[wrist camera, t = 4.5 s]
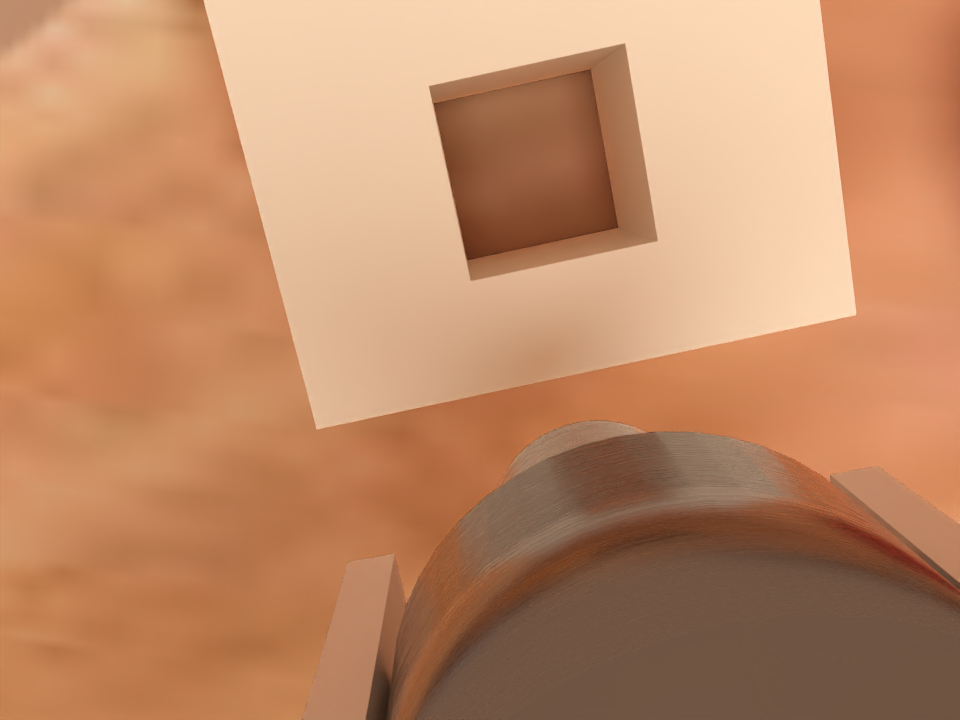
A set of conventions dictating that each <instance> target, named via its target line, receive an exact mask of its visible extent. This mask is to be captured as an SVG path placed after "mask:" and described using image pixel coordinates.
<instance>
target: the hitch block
mask: <svg viewBox="0 0 960 720" xmlns="http://www.w3.org/2000/svg"><path fill="white" fill-rule="evenodd" d="M204 4H205V8H206V12H207V15H208V19H209V23H210V27H211V31H212V34H213V38H214V42H215V46H216V50H217V53H218V57H219V61H220V65H221V69H222V72H223V76H224V80H225V84H226V87H227V91H228V95H229V99H230V103H231V106H232V110H233V114H234V118H235V122H236V125H237V129H238V133H239V137H240V141H241V144H242V148H243V152H244V156H245V160H246V163H247V167H248V171H249V175H250V178H251V182H252V186H253V190H254V194H255V197H256V201H257V205H258V209H259V213H260V216H261V220H262V224H263V228H264V232H265V235H266V239H267V243H268V247H269V250H270V254H271V258H272V262H273V266H274V269H275V273H276V277H277V281H278V285H279V288H280V292H281V296H282V300H283V304H284V307H285V311H286V315H287V319H288V323H289V326H290V330H291V334H292V338H293V341H294V345H295V349H296V353H297V357H298V360H299V364H300V368H301V372H302V376H303V379H304V383H305V387H306V391H307V395H308V398H309V402H310V406H311V410H312V414H313V417H314V421H315V425H316V429H322V428H326V427H331V426H336V425H340V424H345V423H350V422H355V421H359V420H364V419H369V418H373V417H378V416H383V415H388V414H392V413H397V412H402V411H406V410H411V409H416V408H421V407H425V406H430V405H435V404H439V403H444V402H449V401H453V400H458V399H463V398H468V397H472V396H477V395H482V394H486V393H491V392H496V391H501V390H505V389H510V388H515V387H519V386H524V385H529V384H534V383H538V382H543V381H548V380H552V379H557V378H562V377H567V376H571V375H576V374H581V373H585V372H590V371H595V370H599V369H604V368H609V367H614V366H618V365H623V364H628V363H632V362H637V361H642V360H647V359H651V358H656V357H661V356H665V355H670V354H675V353H680V352H684V351H689V350H694V349H698V348H703V347H708V346H712V345H717V344H722V343H727V342H731V341H736V340H741V339H745V338H750V337H755V336H760V335H764V334H769V333H774V332H778V331H783V330H788V329H793V328H797V327H802V326H807V325H811V324H816V323H821V322H826V321H830V320H835V319H840V318H844V317H849V316H854V315H856V307H855V299H854V290H853V282H852V273H851V265H850V256H849V247H848V239H847V230H846V222H845V213H844V205H843V196H842V188H841V179H840V171H839V162H838V154H837V145H836V136H835V128H834V119H833V111H832V102H831V94H830V85H829V77H828V68H827V60H826V51H825V43H824V34H823V25H822V17H821V8H820V0H204ZM590 69H591V75H592V80H593V86H594V92H595V98H596V103H597V109H598V115H599V121H600V126H601V132H602V138H603V143H604V149H605V155H606V161H607V166H608V172H609V178H610V184H611V189H612V195H613V201H614V206H615V212H616V218H617V224H618V228H615V229H610V230H606V231H601V232H596V233H592V234H587V235H582V236H578V237H573V238H569V239H564V240H559V241H555V242H550V243H545V244H541V245H536V246H531V247H527V248H522V249H517V250H513V251H508V252H503V253H499V254H494V255H489V256H485V257H480V258H475V259H471V260H467V256H466V252H465V247H464V242H463V238H462V233H461V228H460V224H459V219H458V214H457V210H456V205H455V200H454V196H453V191H452V186H451V182H450V177H449V172H448V168H447V163H446V158H445V154H444V149H443V144H442V140H441V135H440V130H439V126H438V121H437V116H436V112H435V107H434V103H438V102H443V101H447V100H452V99H457V98H461V97H466V96H470V95H475V94H480V93H484V92H489V91H493V90H498V89H502V88H507V87H512V86H516V85H521V84H525V83H530V82H535V81H539V80H544V79H548V78H553V77H558V76H562V75H567V74H571V73H576V72H581V71H585V70H590Z"/></svg>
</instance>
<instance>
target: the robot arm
mask: <svg viewBox="0 0 960 720" xmlns="http://www.w3.org/2000/svg"><path fill="white" fill-rule="evenodd" d="M830 479H831V483H832V484H833V485H835V486H836V487H837V488H838V489H840V490H841V491H842V492H843V493H845V494H846V495H847V496H848V497H850V498H851V499H852V500H853V501H854V502H856V503H857V504H858V505H859V506H860V507H862V508H863V509H864V510H865V511H866V512H867V513H869V514H870V515H871V516H872V517H873V518H875V519H876V520H877V521H878V522H879V523H880V524H882V525H883V526H884V527H885V528H886V529H888V530H889V531H890V532H891V533H892V534H893V535H895V536H896V537H897V538H898V539H899V540H901V541H902V542H903V543H904V544H905V545H906V546H908V547H909V548H910V549H911V550H912V551H914V552H915V553H916V554H917V555H918V556H919V557H921V558H922V559H923V560H924V561H925V562H927V563H928V564H929V565H930V566H931V567H932V568H934V569H935V570H936V571H937V572H938V573H940V574H941V575H942V576H943V577H944V578H945V579H947V580H948V581H949V582H950V583H951V584H953V585H954V586H955V587H956V588H957V589H958V590H960V525H959V524H958V523H956V522H955V521H954V520H952V519H951V518H949V517H948V516H947V515H945V514H944V513H943V512H941V511H940V510H938V509H937V508H936V507H934V506H933V505H931V504H930V503H929V502H927V501H926V500H924V499H923V498H922V497H920V496H919V495H917V494H916V493H915V492H913V491H912V490H910V489H909V488H908V487H906V486H905V485H904V484H902V483H901V482H899V481H898V480H897V479H895V478H894V477H892V476H891V475H890V474H888V473H887V472H885V471H884V470H883V469H881V468H880V467H878V466H875V467H870V468H864V469H859V470H853V471H848V472H842V473H837V474H831V475H830ZM405 608H406V602H405V598H404V593H403V589H402V584H401V580H400V575H399V571H398V566H397V562H396V558H395V554H389V555H384V556H378V557H373V558H367V559H362V560H356V561H351V562H348V564H347V567H346V570H345V574H344V577H343V581H342V584H341V588H340V591H339V595H338V598H337V602H336V605H335V608H334V612H333V615H332V619H331V622H330V626H329V629H328V633H327V636H326V639H325V643H324V646H323V650H322V653H321V657H320V660H319V664H318V667H317V671H316V674H315V677H314V681H313V684H312V688H311V691H310V695H309V698H308V702H307V705H306V709H305V712H304V715H303V719H302V720H386V715H387V707H388V700H389V693H390V685H391V678H392V670H393V663H394V656H395V648H396V641H397V636H398V632H399V629H400V625H401V622H402V618H403V615H404V611H405Z"/></svg>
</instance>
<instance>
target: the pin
mask: <svg viewBox="0 0 960 720" xmlns="http://www.w3.org/2000/svg"><path fill="white" fill-rule="evenodd" d="M386 720H960V590H958V589H957V588H956V587H955V586H954V585H953V584H951V583H950V582H949V581H948V580H947V579H945V578H944V577H943V576H942V575H941V574H940V573H938V572H937V571H936V570H935V569H934V568H932V567H931V566H930V565H929V564H928V563H927V562H925V561H924V560H923V559H922V558H921V557H919V556H918V555H917V554H916V553H915V552H914V551H912V550H911V549H910V548H909V547H908V546H906V545H905V544H904V543H903V542H902V541H901V540H899V539H898V538H897V537H896V536H895V535H893V534H892V533H891V532H890V531H889V530H888V529H886V528H885V527H884V526H883V525H882V524H880V523H879V522H878V521H877V520H876V519H875V518H873V517H872V516H871V515H870V514H869V513H867V512H866V511H865V510H864V509H863V508H862V507H860V506H859V505H858V504H857V503H856V502H854V501H853V500H852V499H851V498H850V497H848V496H847V495H846V494H845V493H843V492H842V491H841V490H840V489H838V488H837V487H836V486H835V485H833V484H832V483H831V482H830V481H828V480H827V479H826V478H825V477H823V476H822V475H820V474H818V473H816V472H815V471H813V470H811V469H810V468H808V467H806V466H805V465H803V464H801V463H800V462H798V461H796V460H794V459H792V458H790V457H787V456H785V455H783V454H780V453H778V452H775V451H773V450H771V449H768V448H766V447H763V446H760V445H757V444H753V443H749V442H746V441H742V440H738V439H734V438H731V437H726V436H719V435H711V434H704V433H696V432H648V433H647V432H645V431H643V430H640V429H638V428H635V427H633V426H630V425H626V424H622V423H619V422H611V421H584V422H577V423H573V424H569V425H565V426H562V427H560V428H557V429H554V430H552V431H550V432H548V433H546V434H544V435H543V436H541V437H539V438H538V439H536V440H535V441H533V442H532V443H531V444H529V445H528V446H527V447H526V448H525V449H524V450H523V451H522V452H520V453H519V454H518V456H517V457H516V458H515V459H514V460H513V462H512V463H511V464H510V465H509V467H508V468H507V470H506V472H505V473H504V475H503V477H502V479H501V481H500V483H499V485H498V488H497V489H496V490H494V491H493V492H491V493H490V494H489V495H487V496H486V497H485V498H484V499H483V500H481V501H480V502H479V503H478V504H477V505H476V506H475V507H474V508H473V509H472V510H471V511H470V512H469V513H467V514H466V515H465V516H464V517H463V518H462V519H461V520H460V521H459V522H458V523H457V524H456V526H455V527H454V528H453V529H452V531H451V532H450V533H449V534H448V535H447V537H446V538H445V539H444V540H443V541H442V543H441V544H440V545H439V546H438V547H437V549H436V551H435V552H434V554H433V555H432V557H431V559H430V560H429V562H428V563H427V565H426V567H425V568H424V570H423V571H422V573H421V575H420V576H419V578H418V581H417V583H416V585H415V587H414V590H413V592H412V594H411V596H410V598H409V601H408V603H407V605H406V608H405V611H404V615H403V618H402V622H401V625H400V629H399V632H398V636H397V641H396V648H395V656H394V663H393V670H392V678H391V685H390V693H389V700H388V707H387V715H386Z"/></svg>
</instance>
